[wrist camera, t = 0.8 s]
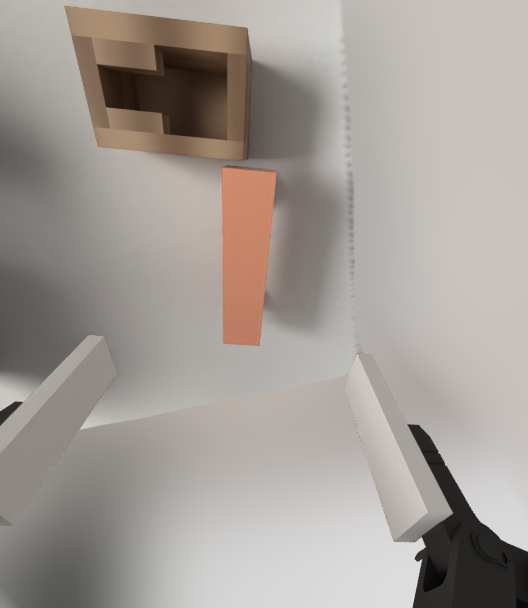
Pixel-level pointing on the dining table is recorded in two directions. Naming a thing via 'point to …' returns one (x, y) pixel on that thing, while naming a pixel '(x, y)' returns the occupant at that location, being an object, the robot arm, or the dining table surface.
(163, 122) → the keyhole plates
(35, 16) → the dining table surface
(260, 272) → the salmon bridge bar
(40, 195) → the dining table surface
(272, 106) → the dining table surface
